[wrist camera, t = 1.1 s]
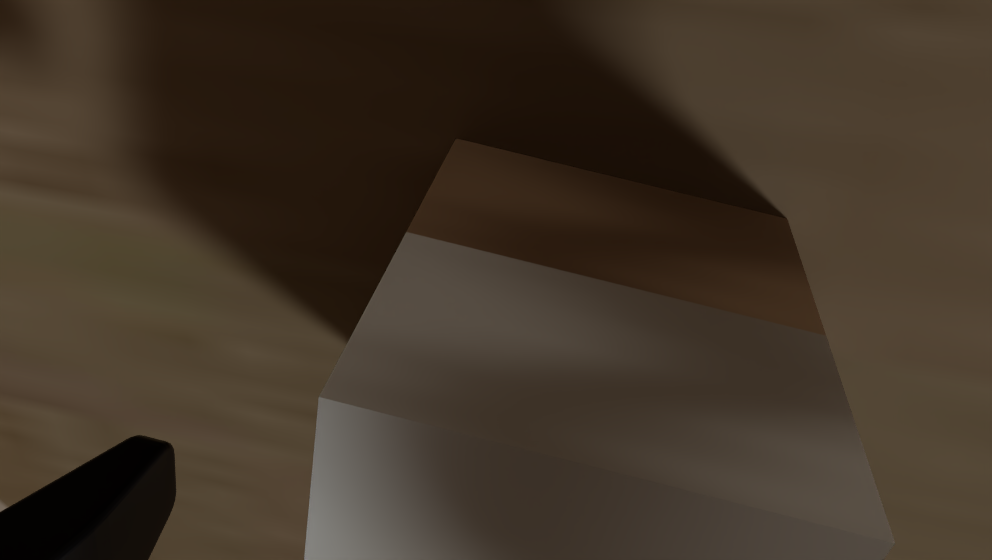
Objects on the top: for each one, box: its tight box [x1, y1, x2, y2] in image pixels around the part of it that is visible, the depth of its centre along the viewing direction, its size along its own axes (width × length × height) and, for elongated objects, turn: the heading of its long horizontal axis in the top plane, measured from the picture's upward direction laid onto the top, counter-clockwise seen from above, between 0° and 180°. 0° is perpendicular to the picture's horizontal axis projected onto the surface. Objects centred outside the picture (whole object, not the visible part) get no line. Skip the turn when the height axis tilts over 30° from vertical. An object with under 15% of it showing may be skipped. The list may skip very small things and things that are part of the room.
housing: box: [304, 138, 895, 560], centre depth 11 cm, size 5×5×6 cm
